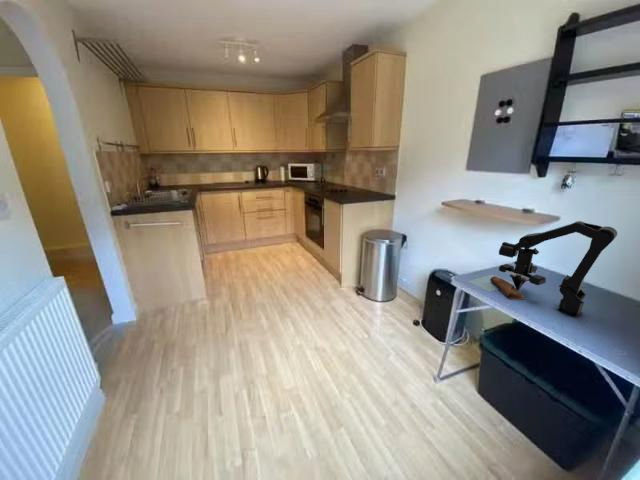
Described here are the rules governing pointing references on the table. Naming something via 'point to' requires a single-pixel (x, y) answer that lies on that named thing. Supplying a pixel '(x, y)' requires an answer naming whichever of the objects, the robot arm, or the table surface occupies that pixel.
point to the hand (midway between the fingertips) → (517, 289)
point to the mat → (486, 283)
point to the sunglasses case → (507, 288)
